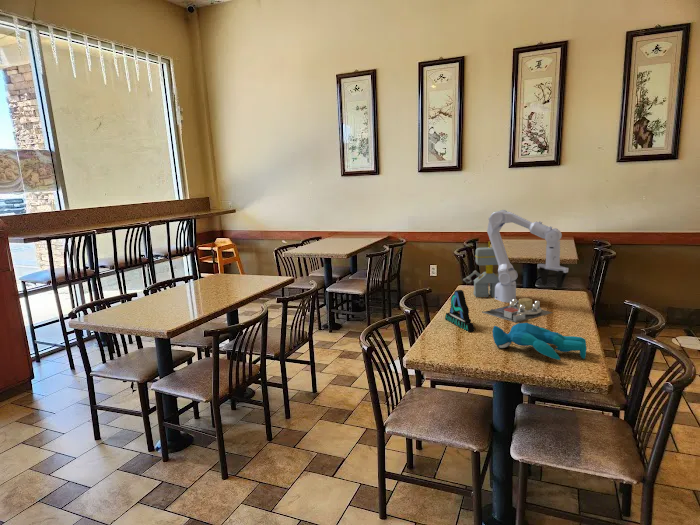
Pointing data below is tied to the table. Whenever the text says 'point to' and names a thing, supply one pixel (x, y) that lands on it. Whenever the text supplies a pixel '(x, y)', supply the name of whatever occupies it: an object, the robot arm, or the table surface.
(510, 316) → the red-ended rectangular metal block
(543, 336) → the toy
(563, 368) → the table surface
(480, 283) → the toy
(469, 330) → the decorative sign
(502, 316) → the base plate
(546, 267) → the robot arm
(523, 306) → the pinned metal disc
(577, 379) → the table surface
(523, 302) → the link block
